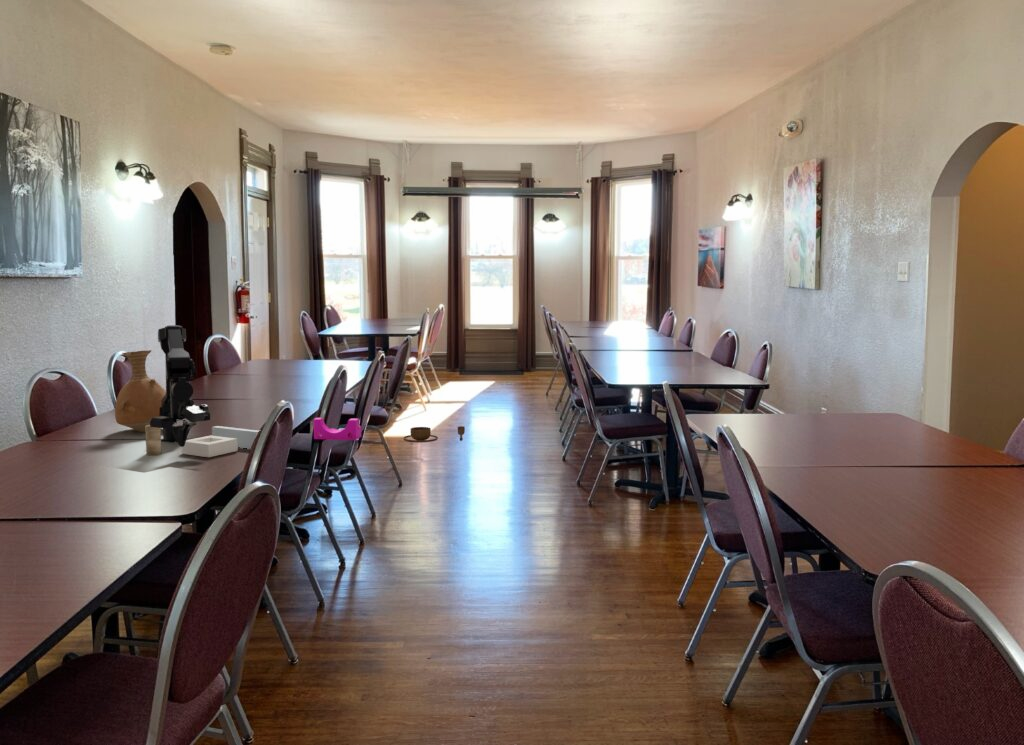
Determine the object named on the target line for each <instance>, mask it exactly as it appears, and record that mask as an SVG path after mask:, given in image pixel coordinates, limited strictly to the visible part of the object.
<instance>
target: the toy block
mask: <svg viewBox="0 0 1024 745" xmlns="http://www.w3.org/2000/svg"><path fill="white" fill-rule="evenodd" d="M361 437H362V425H360V419H359V418H357V417H356V418H355V417H354V418H349V419H348V420H347V423H346V426H345V427H344V428H343V429H338V428H337V429H336V428H334V427H332V428H330V427H328V426H327V424H326V423H325V420H324V418H323V417H316V418H314V419H313V439H314V440H335V441H336V440H338V441H339V440H340V441H357V440H358V439H360V438H361Z"/></svg>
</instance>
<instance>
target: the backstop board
mask: <svg viewBox="0 0 1024 745" xmlns="http://www.w3.org/2000/svg"><path fill="white" fill-rule="evenodd" d="M259 431H260V430H259V429H258V430H256V429H248V428H239V427H238V428H237V427H232V426H231V427H230V426H221V425H215V426H211V436H220V437H228V438H236V439H237V443H238V447H242V448H241V449H243V448H247V449H246V450H251V449H250V447H251V445H252V443H253V441H254V439H255V438H256V436H257V434H258V432H259Z"/></svg>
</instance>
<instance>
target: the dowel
mask: <svg viewBox="0 0 1024 745" xmlns="http://www.w3.org/2000/svg"><path fill="white" fill-rule="evenodd" d="M145 430H146V432H145V446H146V447H145V448H146V449H145V451H146V456H158V455H161V454H162V441H161V439H162V438H161V437H162V436H161V431H162V430H161V428H157V427H150V425H147V426H145Z"/></svg>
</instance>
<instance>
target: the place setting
mask: <svg viewBox="0 0 1024 745" xmlns="http://www.w3.org/2000/svg"><path fill="white" fill-rule="evenodd" d="M465 431H466V428H465V426H463V425H460V426H457V434H458V435H459V441H460V442H462V441H463V440H464V438H463V435H465V433H466V432H465ZM430 437H432V438H433V439H429V438H430ZM402 438H403V441H404V442H407V443H411V445H413V443H414V444H415V443H417V444H419V443H420V444H421V443H432V442H435V441H437V440H438V439H439V436H437V435H434V434H431V427H427V426H414V427H411V428H410V435H405V436H403V437H402ZM408 438H411V439H408Z"/></svg>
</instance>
